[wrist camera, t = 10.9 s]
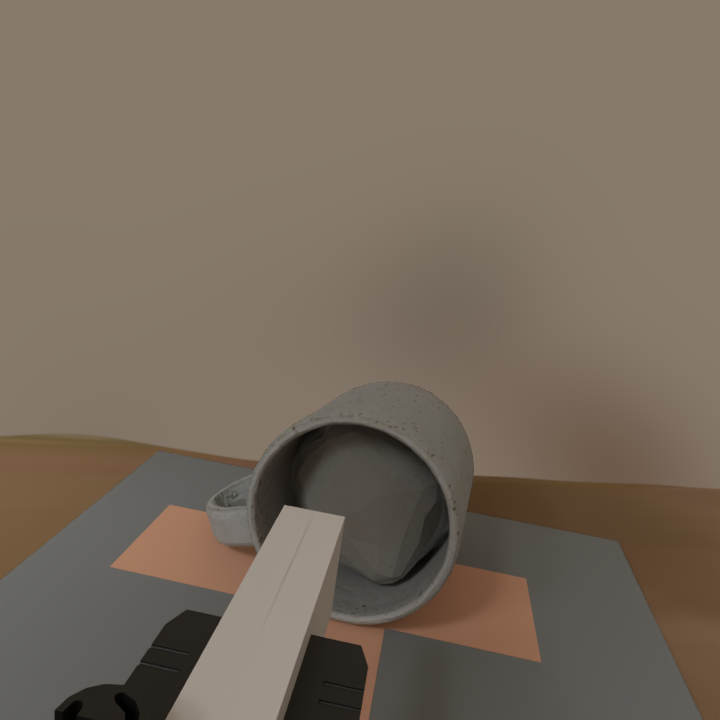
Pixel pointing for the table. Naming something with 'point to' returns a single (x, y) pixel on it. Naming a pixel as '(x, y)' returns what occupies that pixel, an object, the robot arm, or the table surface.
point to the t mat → (379, 642)
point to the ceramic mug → (366, 495)
